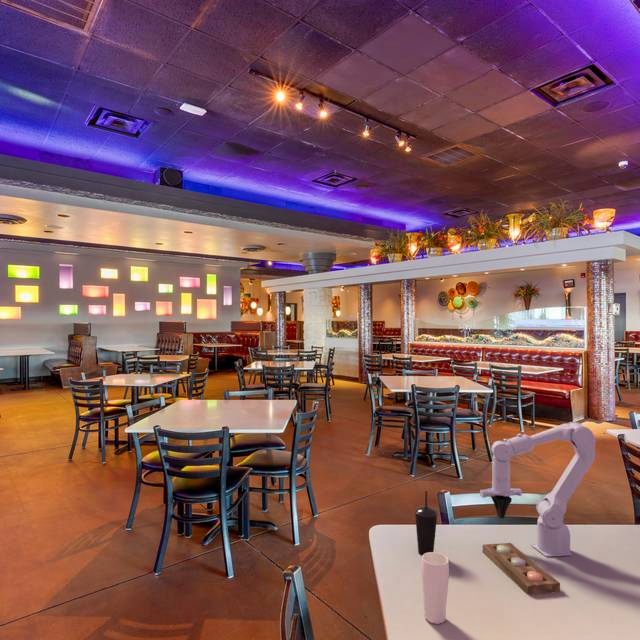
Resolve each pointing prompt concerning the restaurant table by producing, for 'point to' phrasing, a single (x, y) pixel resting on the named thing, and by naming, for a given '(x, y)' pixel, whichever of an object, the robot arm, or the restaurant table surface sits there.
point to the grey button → (517, 562)
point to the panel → (521, 570)
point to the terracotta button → (534, 576)
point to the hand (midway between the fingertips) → (500, 517)
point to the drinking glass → (435, 586)
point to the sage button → (503, 549)
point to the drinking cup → (425, 527)
